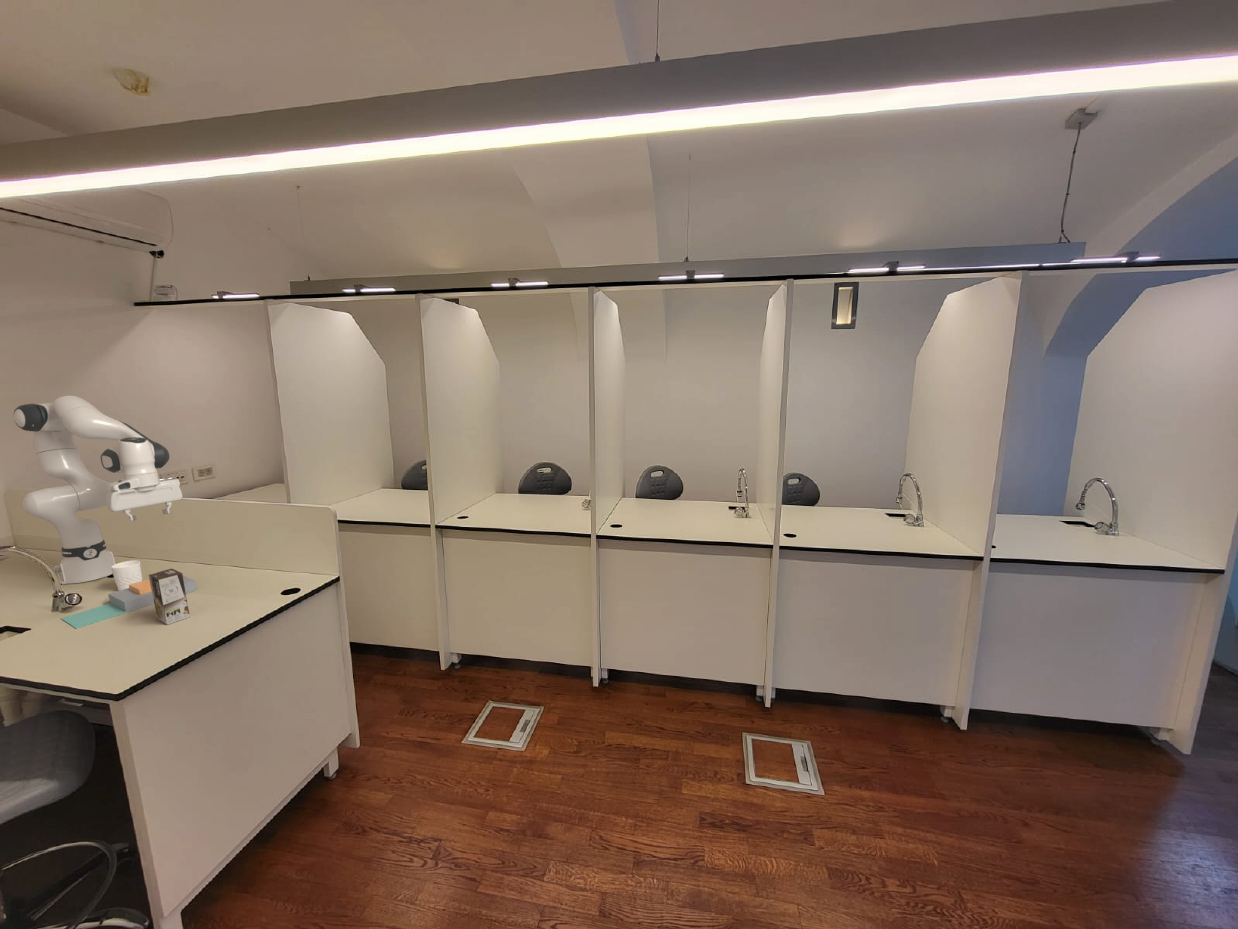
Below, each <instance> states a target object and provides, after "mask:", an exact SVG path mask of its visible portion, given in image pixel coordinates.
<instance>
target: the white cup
mask: <svg viewBox="0 0 1238 929" xmlns="http://www.w3.org/2000/svg"><path fill="white" fill-rule="evenodd" d="M111 569H112V572H113V574H112V576H113V579H114V582H115V585H116V588H117V591H120V590H123V589H127V588H129V585H130V584H133V583H137V582H140V581H143V574H142V566H141V561H140V560H136V559H135V560H126V561H121V562H118V563H116V564H115V565H113V566H111Z"/></svg>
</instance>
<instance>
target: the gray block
mask: <svg viewBox="0 0 1238 929" xmlns="http://www.w3.org/2000/svg"><path fill="white" fill-rule="evenodd" d="M183 580H184V586H185V592H186V594H188V593H192V592H196V591H197V590H198V588H197V583H196V580H195V579H193V578H191V577H187V576H185V575H183ZM107 596H108V599H109V604H112V605H114V606H116V607H118V608H120V609H122V610H124V611H125V612H126V613H130V612H133V611H136V610H139V609H142V608H146V607H148V606H151V605H155V604H154V600H153V595H152V591H151V592H148V593H145V594H141V595H140V594H138V593H135V592H133V591H131V590H130V588H127V589H123V590H120V591H118V590H116V591H114V592H111V593H108V594H107ZM126 613H125V614H126Z"/></svg>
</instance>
